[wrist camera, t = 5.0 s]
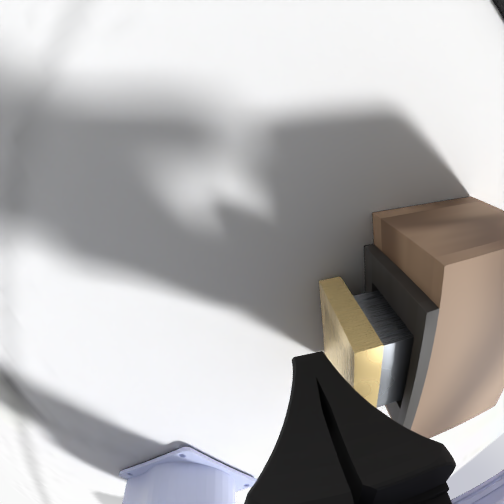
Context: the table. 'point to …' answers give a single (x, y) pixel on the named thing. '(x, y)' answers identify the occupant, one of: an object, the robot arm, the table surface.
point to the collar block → (444, 306)
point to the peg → (365, 341)
